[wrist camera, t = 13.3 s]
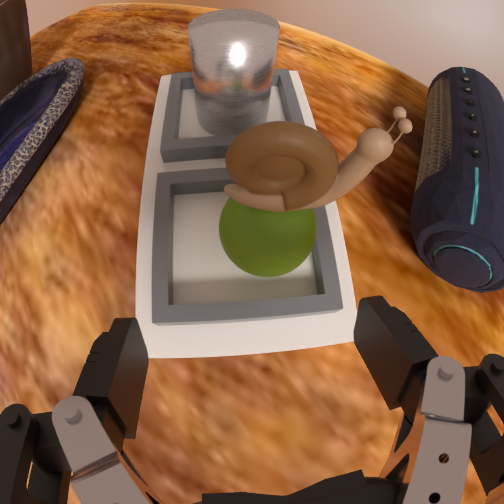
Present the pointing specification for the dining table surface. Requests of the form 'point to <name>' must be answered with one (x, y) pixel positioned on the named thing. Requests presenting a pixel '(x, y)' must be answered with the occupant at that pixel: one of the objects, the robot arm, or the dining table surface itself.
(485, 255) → the portable speaker
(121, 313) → the dining table surface
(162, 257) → the compartment tray
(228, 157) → the snail figurine
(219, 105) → the silver metal cylinder
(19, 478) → the robot arm
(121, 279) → the dining table surface
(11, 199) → the dish
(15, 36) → the plant pot
